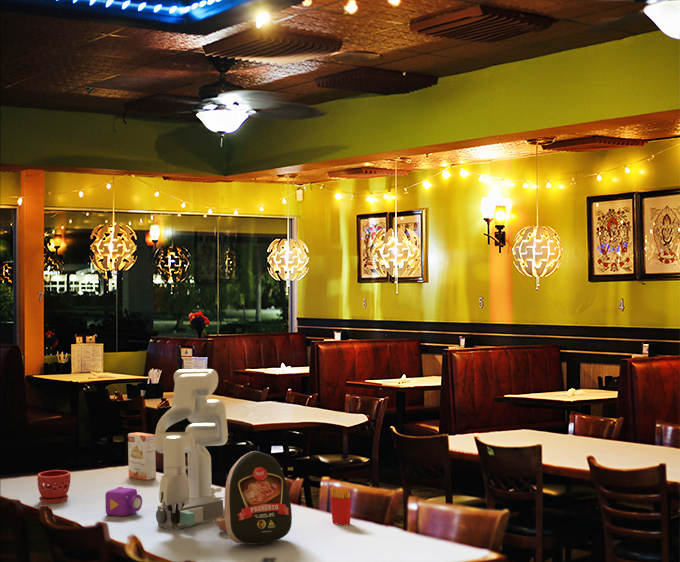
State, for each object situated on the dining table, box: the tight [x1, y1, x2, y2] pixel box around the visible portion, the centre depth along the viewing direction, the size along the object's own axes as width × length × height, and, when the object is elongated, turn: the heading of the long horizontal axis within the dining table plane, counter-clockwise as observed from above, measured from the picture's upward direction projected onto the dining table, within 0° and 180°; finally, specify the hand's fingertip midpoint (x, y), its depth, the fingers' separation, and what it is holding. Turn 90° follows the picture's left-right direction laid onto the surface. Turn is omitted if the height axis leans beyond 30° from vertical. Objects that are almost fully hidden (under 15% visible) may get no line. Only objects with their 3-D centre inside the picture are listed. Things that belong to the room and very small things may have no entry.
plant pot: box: [37, 469, 71, 504], centre depth 358 cm, size 13×13×12 cm
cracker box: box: [127, 431, 157, 481], centre depth 405 cm, size 14×6×21 cm, turn 49°
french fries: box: [329, 486, 352, 526], centre depth 311 cm, size 9×4×13 cm, turn 47°
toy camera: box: [104, 485, 143, 517], centre depth 333 cm, size 11×14×10 cm
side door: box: [178, 507, 203, 526], centre depth 309 cm, size 10×6×5 cm, turn 132°
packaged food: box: [224, 450, 293, 545], centre depth 288 cm, size 22×20×30 cm
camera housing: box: [155, 496, 224, 531], centre depth 317 cm, size 24×11×7 cm, turn 132°
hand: (175, 523), depth 303 cm, fingers closed
